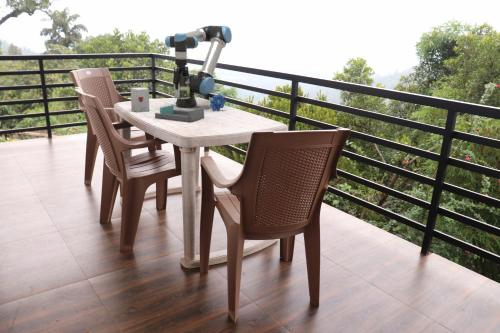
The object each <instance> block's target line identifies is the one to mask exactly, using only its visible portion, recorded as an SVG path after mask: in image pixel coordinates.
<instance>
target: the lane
mask: <svg viewBox="0 0 500 333" xmlns="http://www.w3.org/2000/svg"><path fill="white" fill-rule="evenodd" d="M154 118H155V119H159V120H167V121H175V122H185V123H194V122H197V121H199V120H202V119H204V118H205V107H204V106H203V107H198V108H195V109H192V110H188V111H187V110H180V109H179V110H178V109H174V114H172V115H170V114H162V113H160V112H155V113H154Z"/></svg>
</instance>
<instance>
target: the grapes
mask: <svg viewBox="0 0 500 333" xmlns="http://www.w3.org/2000/svg"><path fill="white" fill-rule="evenodd" d="M212 97H213V98H211V99H210V100H209V101H210V102H209V103H210V104H209V107H210V108H211V110H212V111H216V112H217V111H220V110H221V109H223V108H224V107H225V104H226V103H227V101H226V97H225V95H222V94H221V93H217V94H214V95H213V96H212Z"/></svg>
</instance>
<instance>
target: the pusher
mask: <svg viewBox="0 0 500 333" xmlns="http://www.w3.org/2000/svg"><path fill="white" fill-rule="evenodd" d="M174 110H175V106H174V104H169V105H165V106H161V107H159V111H160V112H159V113H162V114H170V115H172V114H174Z"/></svg>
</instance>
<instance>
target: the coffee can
mask: <svg viewBox="0 0 500 333" xmlns="http://www.w3.org/2000/svg"><path fill="white" fill-rule="evenodd" d="M173 77H174V75H173ZM189 77H190V76H182V75H181V77H178V78H179V86H180V95H176V94H175V84H173V94H174V96H173V97H174V99H176V100H177V99H188V98H190V86H189Z"/></svg>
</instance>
